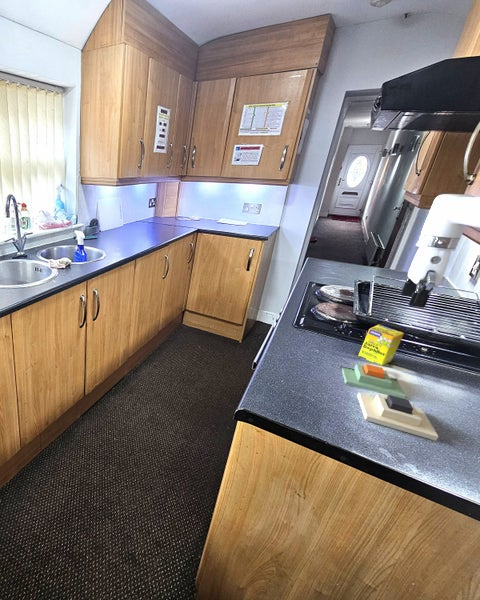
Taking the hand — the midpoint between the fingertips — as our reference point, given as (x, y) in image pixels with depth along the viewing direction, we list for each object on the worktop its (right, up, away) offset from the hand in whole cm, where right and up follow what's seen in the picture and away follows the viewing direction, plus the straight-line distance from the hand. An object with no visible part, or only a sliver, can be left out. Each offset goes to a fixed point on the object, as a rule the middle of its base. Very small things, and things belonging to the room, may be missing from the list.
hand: (411, 301), depth 94 cm
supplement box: (-8, -19, +3) cm, 21 cm away
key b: (-17, -20, -7) cm, 27 cm away
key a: (-22, -25, -19) cm, 38 cm away
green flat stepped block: (-17, -22, -6) cm, 29 cm away
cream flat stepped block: (-22, -27, -18) cm, 39 cm away
